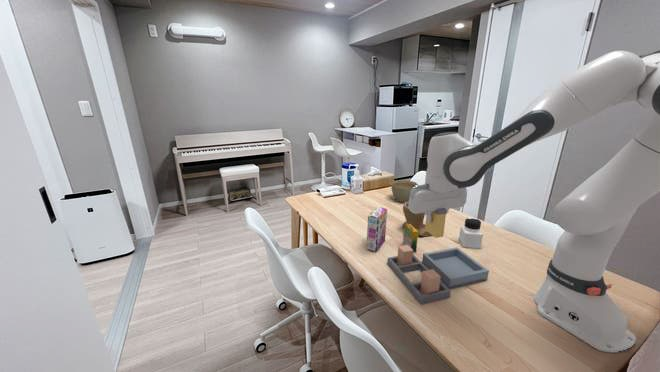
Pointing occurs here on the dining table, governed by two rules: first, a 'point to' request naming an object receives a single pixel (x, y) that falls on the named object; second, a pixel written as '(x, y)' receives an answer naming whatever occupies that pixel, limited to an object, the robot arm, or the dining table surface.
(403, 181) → the planter bowl
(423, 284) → the block
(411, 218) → the brown clay vase
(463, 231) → the medicine bottle
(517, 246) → the dining table surface
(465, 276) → the tray
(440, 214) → the yellow box
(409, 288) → the slot holder
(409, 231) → the crayon box
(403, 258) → the block
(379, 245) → the candy bar box
